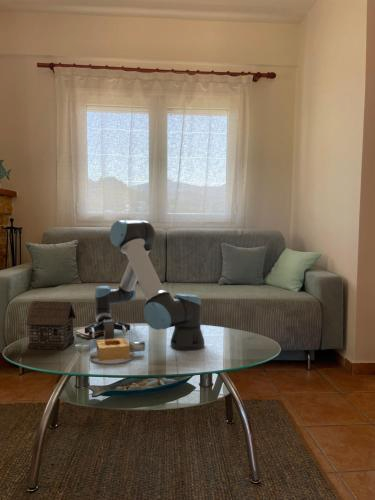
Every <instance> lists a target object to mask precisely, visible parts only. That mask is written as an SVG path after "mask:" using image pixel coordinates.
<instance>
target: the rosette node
mask: <svg viewBox="0 0 375 500" xmlns="http://www.w3.org/2000/svg"><path fill="white" fill-rule="evenodd" d="M95 341H96V342H95V344H96V350H95V351H93V352H92V353H91V354H90V355H89V359H90V360H89V361H91V362H92V363H95V364H98V365H103V364H104V365H105V366H106V365H107V366H108V365H109V366H111V365H112V366H113V365H120V364H126V363H129V362H131V361H132V360H134V359H135V357H136V354H135V353H138V352H139V353H140V352H145V350H146V344H145V341H142V340H141V341H132V342H130V341H129V342H128V341H127V339H126V337H117V338H115V337H114V339H104V338H103V339H96V340H95Z"/></svg>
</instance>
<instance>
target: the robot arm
mask: <svg viewBox="0 0 375 500" xmlns="http://www.w3.org/2000/svg"><path fill="white" fill-rule="evenodd" d="M156 237H157V236H156V231H155V228H154V226H153V225H152V224H151V223H150V222H148V221H147V220H143V219H139V220H137V219H136V220H135V219H133V220H131V219H130V220H129V219H128V220H126V219H122V220H116V221H115V222H114V223H113V224H112V225H111V227H110V231H109V239H110V243H111V244H112V245H113V246H114V247H119V250H120V252H121V253H122V254H124V255H126V257H127V259H128V264H127V266H126V268H125V271H124V273H123V276H122V279H121V280H120V283H119V286H118V287H116V288H111V287H110V285H100V286H99V285H98V286H96V287H95V291H94V292H95V293H94V297H95V298H94V301H95V310H94V311H95V313H94V319H95V321H96V323H95V322H90V324H88V325H87V326H85V327H84V334H88V335H89V336H92V338H93V339H94V338H95V333H96V332H98V331H99V332H101V331H102V332H104V320H107V319H113V317H112V316H111V315H112V313H111V312H112V310H111V307H112V305H113V304H119V303H125V302H131V301H133V300H134V299H135V298H136V289H135V286H136V284H137V282H138V283H139V285H140V289H141V290H142V292H143V295H144V297H145V302H144V305H145V306H144V308H143V317H144V320H145V323H146V324H147V325H148V326H149V327H150V328H151V329H155V330H166V329H169V328H173V327H174V330H173V332H172V335H171V338H170V347H171V348H173V349H175V350H178V351H195V350H196V351H197V350H200V349H203V348H204V347H205V339H204V335H203V332H202V330H201V329H202V328H201V320H202V319H201V316H202V314H201V313H202V303H201V297H200V296H199V295H197V294H189V293H175V294H174V297H173V296H172V295H171V293H170V292H169V291H167V290H165V288H164V287H163V285H162V282H161V280H160V278H159V276H158V274H157V272H156V269H155V267H154V265H153V263H152V261H151V259H150V257H149V254H150V252H152V251H153V249H154V247H155V245H156V244H155V243H156V239H157V238H156ZM172 297H173V298H172ZM115 330H117V331H122V335H124V336H127V333H128V331H131V324H128V323H126V322H123V321H121V320H118V321H117V322H115V321H114V331H115Z"/></svg>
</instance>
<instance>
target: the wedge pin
mask: <svg viewBox="0 0 375 500" xmlns="http://www.w3.org/2000/svg"><path fill="white" fill-rule="evenodd" d="M114 322H115V320H114V319H113V318H112V319H107V320H104V331H103V339H115V330H114Z"/></svg>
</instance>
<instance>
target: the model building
mask: <svg viewBox="0 0 375 500" xmlns="http://www.w3.org/2000/svg"><path fill="white" fill-rule="evenodd" d="M74 319H77V316H76V312H75V310H74V307H73V304H72V302H71V301H56V300H55V301H53V300H52V301H49V300H45V301H44V300H33V301H32V302H31V303H30V307H29V312H28V314H27V318H26V322H25V325H26V326H28V329H27V330H28V343H27V348H29V349H35V350H36V349H38V350H39V349H40V350H41V349H42V350H65V349H67V348H69V347H70V346H71V345H72V344H73V343H74V341H75V336H74Z"/></svg>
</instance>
